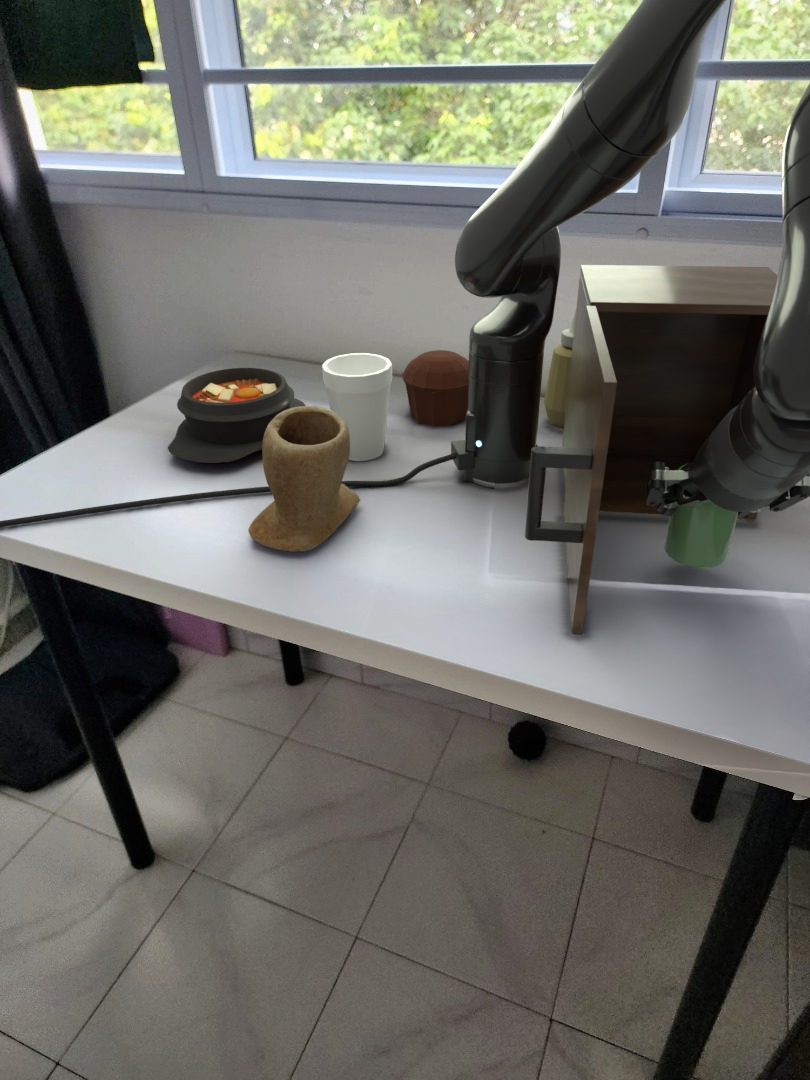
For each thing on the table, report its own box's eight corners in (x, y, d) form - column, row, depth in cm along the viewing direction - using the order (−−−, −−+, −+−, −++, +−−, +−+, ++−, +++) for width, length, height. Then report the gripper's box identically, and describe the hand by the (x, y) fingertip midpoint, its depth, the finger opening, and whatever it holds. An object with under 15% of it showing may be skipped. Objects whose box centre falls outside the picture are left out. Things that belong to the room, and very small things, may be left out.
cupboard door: (517, 629, 74) (537, 380, 60) (519, 515, 92) (535, 304, 78) (582, 634, 73) (617, 382, 59) (570, 518, 91) (596, 305, 77)
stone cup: (324, 570, 83) (312, 448, 75) (236, 546, 88) (217, 428, 80) (385, 507, 95) (381, 395, 87) (305, 489, 99) (294, 381, 91)
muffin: (395, 426, 115) (393, 363, 110) (410, 399, 125) (409, 340, 119) (471, 432, 113) (473, 368, 108) (481, 404, 122) (484, 344, 117)
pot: (667, 567, 75) (684, 480, 70) (657, 532, 80) (673, 449, 75) (736, 571, 74) (759, 483, 69) (721, 536, 79) (742, 452, 74)
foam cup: (404, 443, 110) (403, 358, 103) (376, 470, 103) (372, 380, 96) (348, 433, 114) (342, 349, 107) (317, 458, 107) (309, 370, 100)
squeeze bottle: (603, 421, 116) (618, 303, 106) (583, 440, 110) (598, 318, 100) (554, 411, 119) (565, 296, 110) (533, 429, 114) (542, 309, 104)
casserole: (252, 484, 101) (243, 426, 96) (138, 463, 106) (125, 408, 102) (333, 414, 120) (329, 363, 116) (234, 399, 126) (226, 351, 121)
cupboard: (753, 526, 89) (814, 306, 75) (566, 516, 92) (590, 302, 78) (722, 462, 103) (768, 266, 89) (561, 455, 106) (580, 264, 92)
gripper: (849, 412, 60) (772, 476, 76) (664, 407, 62) (627, 470, 78) (853, 503, 58) (774, 548, 75) (663, 494, 60) (626, 540, 76)
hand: (699, 508), depth 76 cm, fingers closed on pot, 6 cm apart
